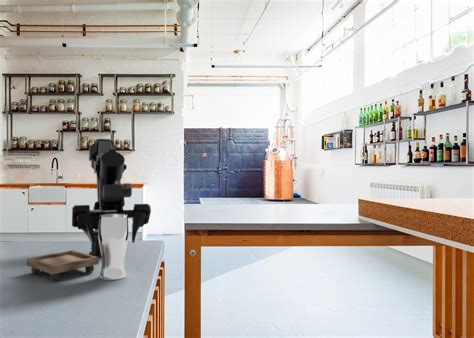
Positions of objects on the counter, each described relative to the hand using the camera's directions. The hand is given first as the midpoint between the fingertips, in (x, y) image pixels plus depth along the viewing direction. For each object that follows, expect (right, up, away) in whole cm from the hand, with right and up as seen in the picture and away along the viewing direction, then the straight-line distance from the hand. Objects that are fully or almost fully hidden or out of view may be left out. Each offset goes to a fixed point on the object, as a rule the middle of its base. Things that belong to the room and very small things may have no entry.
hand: (114, 242), depth 95 cm
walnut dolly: (-14, -8, +4) cm, 17 cm away
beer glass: (-1, -9, +1) cm, 9 cm away
